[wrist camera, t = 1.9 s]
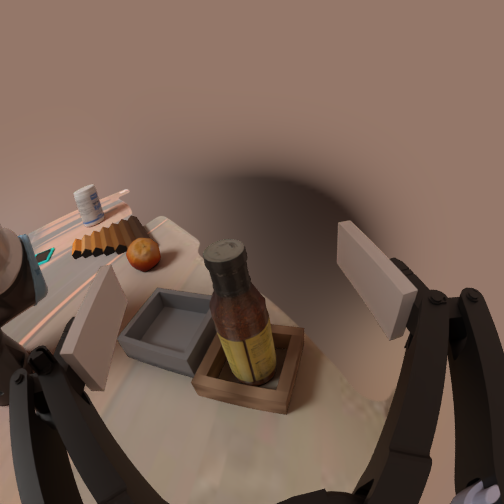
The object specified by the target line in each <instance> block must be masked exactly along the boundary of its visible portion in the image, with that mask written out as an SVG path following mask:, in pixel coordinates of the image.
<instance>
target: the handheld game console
mask: <svg viewBox="0 0 504 504" xmlns="http://www.w3.org/2000/svg"><path fill="white" fill-rule="evenodd" d="M54 250H55V249H54V248H51V249H49V250H46V251H44V252H41V253H39V254H37V255H35V257H36V259H37V262H38V265H40V264H43V263H46V262H48V261H49V259H50V258H51V255H52V253H53V251H54Z"/></svg>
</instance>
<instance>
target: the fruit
mask: <svg viewBox="0 0 504 504" xmlns="http://www.w3.org/2000/svg"><path fill="white" fill-rule="evenodd" d="M126 256H127V259H128V261H129V262H130V264H131V265H132V266H133V267H134V268H136V269H138V270H140V271H142V272H146V271H148V270H150V269H151V268H152V267H154V266H155V265H156V264H157V263H158V262H159V260H160V258H161V255H160V250H159V247H158V244H157V243H156V242H154V241H153V240H152V239H149V238H138V239H136V240H134V241H133V242H132V243H131V244H130V246H129V247H128V249H127V253H126Z"/></svg>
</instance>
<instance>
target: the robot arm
mask: <svg viewBox="0 0 504 504" xmlns="http://www.w3.org/2000/svg"><path fill="white" fill-rule="evenodd" d="M337 264H338V265H339V267H340V268H341V269H342V271H343V272H344V274H345V275H346V277H347V278H348V279H349V281H350V282H351V284H352V285H353V287H354V288H355V289H356V291H357V292H358V294H359V295H360V297H361V298H362V300H363V301H364V303H365V304H366V306H367V307H368V309H369V310H370V312H371V313H372V314H373V316H374V318H375V319H376V321H377V322H378V324H379V325H380V327H381V328H382V330H383V332H384V333H385V335H386V336H387V338H388V339H389V341H390V340H393V339H396V338H399V337H401V336H403V334H404V331H405V328H406V327H407V329H408V330H409V331H410V334H409V337H408V340H407V342H406V345H405V347H404V348H406V352H405V356H404V360H403V364H402V368H401V373H400V376H399V380H398V383H397V387H396V391H395V394H394V397H393V401H392V404H391V407H390V410H389V413H388V416H387V419H386V422H385V425H384V427H383V430H382V433H381V435H380V438H379V441H378V443H377V446H376V448H375V451H374V453H373V455H372V458H371V460H370V462H369V464H368V466H367V468H366V470H365V472H364V473H363V475H362V476H361V478H360V480H359V482H358V483H357V485H356V487H355V489H354V491H353V493H352V494H350V493H346V492H337V491H328V492H326V490H325V489H322V490H318V491H314V492H310V493H306V494H302V495H298V496H293V497H291V498H289V499H287V500H284V501H282V502H279V503H277V504H418V503H419V500H420V498H421V496H422V493H423V490H424V488H425V485H426V482H427V479H428V476H429V473H430V470H431V466H432V459H431V457H430V449H431V445H432V441H433V438H434V434H435V430H436V425H437V420H438V415H439V411H440V406H441V400H442V394H443V388H444V381H445V373H446V364H447V355H448V361H449V368H450V374H451V382H452V391H453V401H454V415H455V492H456V496H455V497H454V498H453V500H452V501H451V503H450V504H504V352H503V349H502V346H501V343H500V339H499V336H498V333H497V330H496V328H495V325H494V322H493V320H492V317H491V314H490V312H489V309H488V307H487V304H486V302H485V300H484V297H483V296H482V294H481V293H480V292H479V291H478V290H476V289H473V288H465V289H463V290H462V292H461V294H460V297H453V298H448V297H447V296H446V295H445V294H444V293H442V292H440V291H437V290H429V289H428V288H427V287H426V286H425V284H424V283H423V282H422V281H421V280H420V279H419V278H418V277H417V276H416V275H415V274H414V273H413V272H412V271H411V270H410V269H409V268H408V267H407V266H406V265H405V264H404V263H403V262H402V261H400V260H398V259H396V258H391V259H389V258H388V257H387V256H386V255H385V254H384V253H383V252H382V251H381V250H380V249H379V248H378V247H377V246H376V245H375V244H374V243H373V242H372V241H371V240H370V239H369V238H368V237H367V236H366V235H365V234H364V233H363V232H362V231H361V230H360V229H358V228H357V227H356V226H355V225H354V224H353V223H352V222H351V221H345V222H339V223H338V248H337ZM47 293H48V288H47V285H46V282H45V280H44V277H43V275H42V273H41V270H40V267H39V265H38V262H37V259H36V257H35V254H34V251H33V248H32V245H31V242H30V240H29V237H28V235H26V234H24V235H20V236H17V235H16V234H15V233H14V232H13V231H11V230H9V229H6V228H2V227H1V225H0V328H1V327H2V326H4V325H5V324H7V323H8V322H9V321H11V320H12V319H14V318H15V317H17V316H18V315H20V314H21V313H23V312H24V311H26V310H27V309H29V308H30V307H32V306H35V305H37V303H38V302H39V301H41V300H42V299H43V298H45V297H46V295H47ZM127 303H128V300H127V298H126V296H125V294H124V292H123V290H122V288H121V286H120V283H119V281H118V279H117V277H116V275H115V272H114V270H113V268H112V265H107V266H102V267H100V268H99V270H98V272H97V274H96V276H95V278H94V280H93V281H92V283H91V285H90V287H89V289H88V291H87V293H86V295H85V297H84V299H83V301H82V303H81V306H80V308H79V310H78V312H77V314H76V316H75V317H72V318H71V320H70V321H69V322H68V323H67V325H66V327H65V329H64V331H63V332H64V333H63V334H62V336H61V339H60V340H59V343H58V345H57V348H56V350H55V352H54V355H52V354H51V352H50V351H49V350H48V348H47V347H46V346H39V347H37V348H35V349H34V350H33V351H32V352H31V353H30V355H29V353H28V352H27V351H26V350H25V348H24V347H23V346H21V345H20V344H19V343H17V342H16V341H14V340H13V339H11V338H10V337H9V336H7V335H6V334H5V333H4V332H3V331H2V330H1V329H0V405H1V406H4V405H8V404H9V416H10V436H11V447H12V456H13V463H14V470H15V476H16V481H17V486H18V491H19V495H20V499H21V503H22V504H83V502H82V499H81V496H80V493H79V491H78V488H77V485H76V482H75V479H74V475H73V472H72V469H71V465H70V461H69V458H68V454H67V451H68V453H69V455H70V457H71V459H72V461H73V463H74V465H75V467H76V469H77V470H78V472H79V474H80V476H81V478H82V479H83V481H84V483H85V484H86V486H87V488H88V489H89V491H90V492H91V494H92V495H93V497H94V499H95V500H96V502H97V504H169V503H168V502H166V501H165V500H164V499H163V498H162V497H161V496H160V495H159V494H158V493H157V492H156V491H155V490H154V489H153V488H152V487H151V485H150V484H149V483H148V482H147V481H146V480H145V478H144V477H143V476H142V475H141V474H140V472H139V471H138V470H137V469H136V467H135V466H134V465H133V464H132V462H131V461H130V460H129V458H128V457H127V456H126V454H125V453H124V452H123V450H122V449H121V447H120V446H119V445H118V443H117V442H116V440H115V439H114V437H113V436H112V434H111V433H110V431H109V430H108V428H107V427H106V425H105V424H104V422H103V420H102V419H101V417H100V416H99V414H98V412H97V411H96V409H95V407H94V405H93V404H92V402H91V400H90V398H89V397H88V395H87V393H86V392H85V391H84V386H85V384H86V386H87V387H88V388H89V389H90V390H91V391H104V390H105V385H106V381H107V376H108V372H109V368H110V364H111V360H112V356H113V352H114V348H115V344H116V340H117V337H118V333H119V329H120V326H121V323H122V319H123V316H124V312H125V309H126V306H127ZM32 369H33V370H34V371H35V373H33V374H32ZM35 410H36V413H35ZM66 449H67V450H66Z"/></svg>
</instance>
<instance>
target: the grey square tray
mask: <svg viewBox="0 0 504 504" xmlns="http://www.w3.org/2000/svg"><path fill="white" fill-rule="evenodd" d="M211 297H212V296H211V295H204V294H197V293H189V292H183V291H176V290H169V289H163V288H157V289H156V290H155V291H154V292H153V293H152V295H151V296H150V297H149V298H148V300H147V301H146V302H145V303H144V305H143V306H142V307H141V308H140V310H139V311H138V312H137V313H136V315H135V316H134V317H133V318H132V320H131V321H130V322H129V323H128V325H127V326H126V327H125V328H124V330H123V331H122V332H121V334H120V335H119V336H118V338H117V340H118V342H119V343H120V345H121V346H122V348H123V350H124V351H125V353H126V354H127V356H128V357H131V358H133V359H136V360H139V361H142V362H144V363H147V364H150V365H153V366H156V367H159V368H162V369H165V370H168V371H172V372H175V373H178V374H182V375H185V376H189V377H192V378H194V376H195V374H196V372H197V370H198V368H199V366H200V364H201V362H202V360H203V358H204V356H205V354H206V353H207V351H208V349H209V347H210V345H211V343H212V341H213V339H214V337H215V335H216V333H217V331H216V328H215V323H214V320H213V319H212V315H211V311H210V308H209V302H210V300H211Z"/></svg>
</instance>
